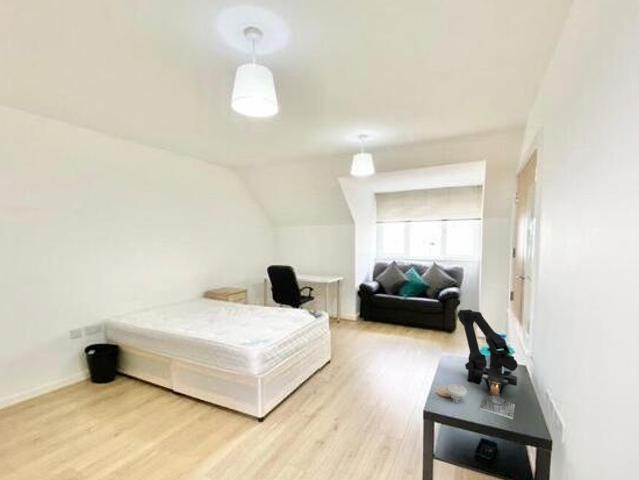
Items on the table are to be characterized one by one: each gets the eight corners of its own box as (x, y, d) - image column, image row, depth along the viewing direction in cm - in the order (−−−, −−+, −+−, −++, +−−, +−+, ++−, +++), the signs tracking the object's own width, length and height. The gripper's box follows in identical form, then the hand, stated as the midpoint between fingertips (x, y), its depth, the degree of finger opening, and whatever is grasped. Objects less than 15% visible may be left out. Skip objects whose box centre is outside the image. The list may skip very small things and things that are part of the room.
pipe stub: (489, 395, 162) (489, 383, 162) (490, 391, 166) (490, 380, 166) (499, 397, 160) (499, 386, 159) (500, 394, 163) (500, 382, 163)
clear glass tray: (480, 409, 149) (480, 402, 149) (484, 397, 160) (484, 390, 159) (512, 419, 142) (512, 411, 141) (514, 406, 152) (514, 399, 152)
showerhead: (441, 382, 159) (459, 381, 161) (440, 396, 159) (458, 395, 161) (451, 392, 150) (471, 390, 152) (451, 407, 150) (470, 405, 152)
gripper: (473, 362, 161) (472, 393, 161) (516, 373, 150) (515, 405, 151) (476, 355, 170) (475, 384, 170) (518, 365, 159) (516, 395, 160)
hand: (494, 392), depth 163 cm, fingers closed on pipe stub, 4 cm apart
